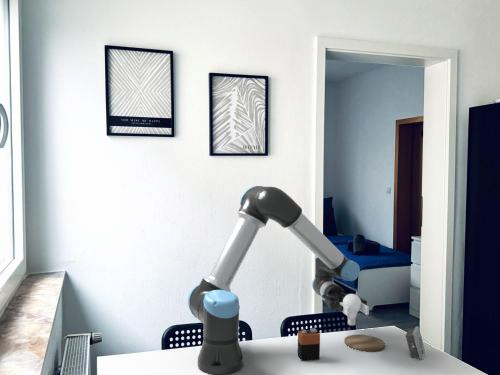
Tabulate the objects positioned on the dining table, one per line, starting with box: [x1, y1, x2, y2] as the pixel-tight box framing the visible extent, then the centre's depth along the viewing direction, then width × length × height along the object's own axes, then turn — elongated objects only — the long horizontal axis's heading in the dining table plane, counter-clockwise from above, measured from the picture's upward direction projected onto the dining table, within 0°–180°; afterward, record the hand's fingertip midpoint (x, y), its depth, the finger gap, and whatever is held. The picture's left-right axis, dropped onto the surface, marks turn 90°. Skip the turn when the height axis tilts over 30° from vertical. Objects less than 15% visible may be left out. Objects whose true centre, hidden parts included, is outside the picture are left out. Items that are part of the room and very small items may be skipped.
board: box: [344, 333, 386, 353], centre depth 162 cm, size 15×15×1 cm
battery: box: [297, 327, 321, 362], centre depth 148 cm, size 4×7×10 cm, turn 102°
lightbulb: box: [343, 293, 361, 327], centre depth 148 cm, size 6×6×11 cm
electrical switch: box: [405, 326, 426, 361], centre depth 153 cm, size 9×5×9 cm, turn 152°
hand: (358, 311), depth 143 cm, fingers closed on lightbulb, 6 cm apart
